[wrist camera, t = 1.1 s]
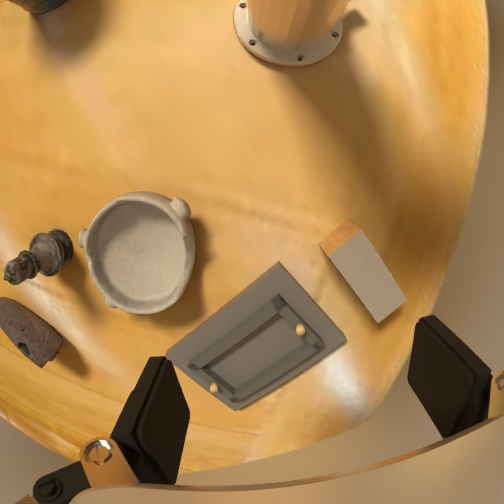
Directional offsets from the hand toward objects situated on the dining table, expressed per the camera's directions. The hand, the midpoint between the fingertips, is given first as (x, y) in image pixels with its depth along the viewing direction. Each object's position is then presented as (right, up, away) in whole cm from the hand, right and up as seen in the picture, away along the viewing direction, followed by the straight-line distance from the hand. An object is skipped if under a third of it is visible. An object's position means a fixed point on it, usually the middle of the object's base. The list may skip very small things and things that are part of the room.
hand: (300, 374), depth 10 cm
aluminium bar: (+11, +3, +25) cm, 28 cm away
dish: (-15, +5, +25) cm, 29 cm away
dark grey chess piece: (-28, +5, +25) cm, 38 cm away
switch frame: (-1, -8, +29) cm, 30 cm away
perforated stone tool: (-37, -6, +28) cm, 48 cm away
